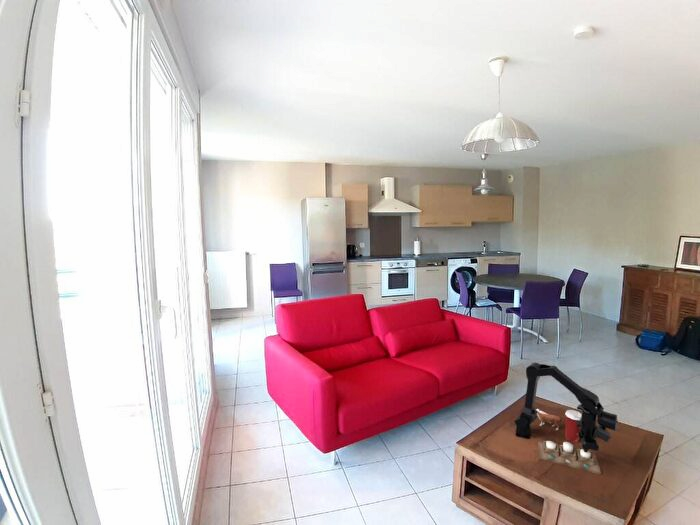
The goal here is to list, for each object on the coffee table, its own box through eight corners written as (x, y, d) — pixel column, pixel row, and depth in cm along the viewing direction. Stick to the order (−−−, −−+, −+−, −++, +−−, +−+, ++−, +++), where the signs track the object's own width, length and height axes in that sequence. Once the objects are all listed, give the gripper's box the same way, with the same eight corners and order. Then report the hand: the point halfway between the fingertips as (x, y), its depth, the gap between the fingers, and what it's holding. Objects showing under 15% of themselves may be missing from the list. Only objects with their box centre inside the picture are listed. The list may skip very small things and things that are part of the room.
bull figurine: (533, 419, 195) (534, 406, 193) (561, 428, 187) (562, 414, 186) (532, 423, 191) (533, 409, 190) (560, 432, 183) (561, 418, 182)
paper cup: (583, 444, 173) (586, 418, 172) (566, 442, 175) (569, 416, 173) (576, 435, 181) (579, 410, 179) (560, 433, 182) (562, 408, 181)
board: (539, 458, 163) (539, 451, 163) (538, 443, 174) (538, 437, 174) (600, 474, 153) (601, 467, 153) (595, 457, 164) (596, 451, 163)
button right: (580, 460, 160) (581, 453, 160) (579, 455, 164) (579, 448, 163) (590, 462, 159) (591, 455, 158) (589, 457, 162) (589, 450, 162)
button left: (546, 451, 166) (546, 444, 166) (545, 446, 170) (545, 439, 169) (555, 454, 165) (556, 447, 164) (554, 449, 168) (555, 442, 168)
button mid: (563, 452, 163) (563, 445, 163) (562, 447, 167) (562, 441, 166) (573, 455, 161) (573, 448, 161) (571, 450, 165) (572, 443, 165)
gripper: (615, 437, 147) (611, 470, 149) (605, 414, 164) (601, 444, 166) (584, 430, 152) (580, 462, 154) (577, 409, 168) (574, 438, 170)
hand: (585, 451), depth 161 cm, fingers closed, pressing on button right
